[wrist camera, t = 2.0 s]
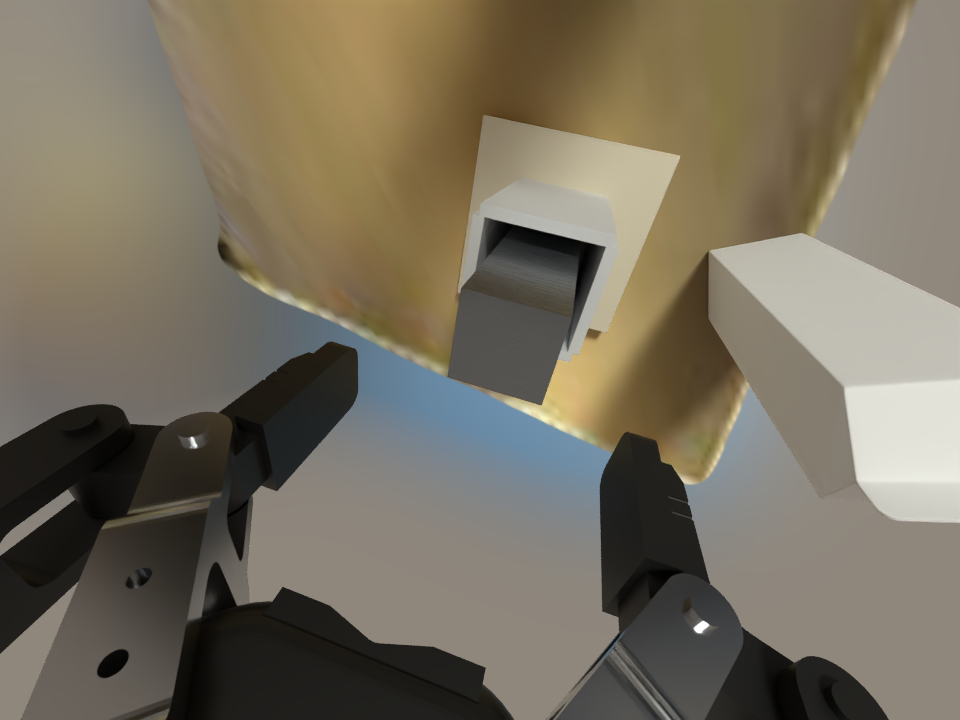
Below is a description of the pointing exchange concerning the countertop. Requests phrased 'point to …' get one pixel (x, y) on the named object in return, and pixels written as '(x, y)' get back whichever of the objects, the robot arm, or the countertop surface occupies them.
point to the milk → (847, 371)
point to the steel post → (516, 314)
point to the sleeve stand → (567, 207)
